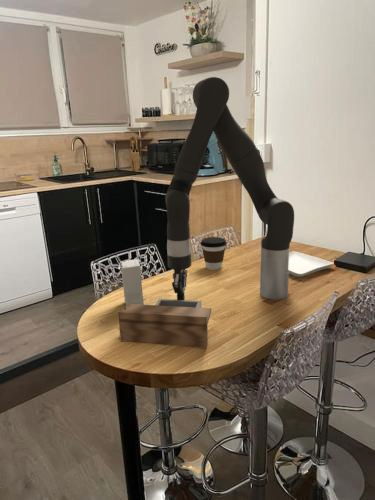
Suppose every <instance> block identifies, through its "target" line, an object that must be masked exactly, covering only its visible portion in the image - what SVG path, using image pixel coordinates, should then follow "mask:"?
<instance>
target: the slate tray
mask: <svg viewBox="0 0 375 500" xmlns="http://www.w3.org/2000/svg"><path fill="white" fill-rule="evenodd" d="M154 305H159V306H177V307H196V308H202V301H201V300H191V299H190V300H189V299H185V300H177V299H167V298H158V300H157V301H156V303H155V304H154Z"/></svg>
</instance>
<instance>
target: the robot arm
mask: <svg viewBox="0 0 375 500" xmlns="http://www.w3.org/2000/svg"><path fill="white" fill-rule="evenodd" d="M229 98H230V88H229V86H228V84H227V82H226V80H224V79H223V78H221V77H219V76H210V77H206V78H204V79H201V80H199V82H197V83H196V84H195V86H194V88H193V91H192V100H193V104H194V106H195V108H196V112H195V116H194V120H193V121H192V125H191V129H190V130H189V133H188V135H187V137H186V139H185V141H184V143H183V145H182V147H181V149H180V151H179V155H178V158H177V161H176V164H175V168H174V171H173V172H174V173H173V176H172V177H171V181H170V183H169V186H168V189H167V191H166V194H165V199H164V200H165V206H166V217H167V222H166V223H167V225H166V235H167V242H166V250H167V251H166V252H167V253H166V256H167V267H168V268H169V269H171V270H173V273H172V279H173V281H172V282H171V286H172V289H173V292H174V293H175V294H176V300H186V299H185V291H186V288H187V279H188V278H187V277H188V272H189V271H188V269H189V268H190V267H191V266H192V243H191V236H190V235H191V234H190V229H191V228H190V214H191V213H190V212H191V210H190V208H191V207H190V205H191V204H190V203H191V202H190V197H189V196H190V193H191V191H192V186H193V184H195V182H196V180H197V179H198V176H199V172H200V169H201V166H202V164H203V163H202V162H203V159H204V157H205V154H206V151H207V148H208V145H209V142H210V140H211V137H212V134H213V133H214V135H215V138H216V139H217V141H218V143H219V146H220V147H221V149H222V151H223V153H224V155H225V157H226V160H227V161H228V163H229V165H230V166H231V168H232V169H233V171H234V172H235V173H234V174H236V176H237V178H238V179H239V181H240V183H241V185H242V186H243V187H244V189H245V190H246V192H247V194H248V195H249V197H250V199H251V202H252V203H253V207H254V208H255V211H256V213H257V216H258V218H259V219H260V220H261V221H262V223H263V224H265V225H267V227H266V235H265V236H263V237H262V238H261V244H260V247H261V248H260V279H259V281H260V282H259V286H260V287H259V295H260V296H261V297H262V298H265V299H268V300H282V299H283V300H284V299H288V297H289V277H290V274H289V270H288V267H289V252H290V244H291V242H292V240H293V237H294V235H293V234H294V225H295V209H294V206H293V205H292V204H291V203H290V202H289V201H286V200H284V199H280V198H278V197H277V196H276V194H275V193H274V192H273V190H272V188H271V187H270V184H269V183H268V180H267V175H266V169H265V163H264V160H263V158H262V155H261V154H260V152H259V149H258V148H257V146H256V144H255V143H254V141H253V139H252V138H251V136H250V135H249V134H248V133H247V132H246V131H245V129H244V128H242V127H241V125H240V124H239V123H238V122H237V121H236V119H235V118H234V116H233V115H232V113H231V111H230V108H229V106H228V101H229Z"/></svg>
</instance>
